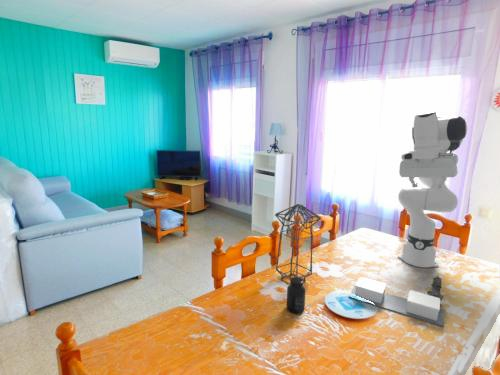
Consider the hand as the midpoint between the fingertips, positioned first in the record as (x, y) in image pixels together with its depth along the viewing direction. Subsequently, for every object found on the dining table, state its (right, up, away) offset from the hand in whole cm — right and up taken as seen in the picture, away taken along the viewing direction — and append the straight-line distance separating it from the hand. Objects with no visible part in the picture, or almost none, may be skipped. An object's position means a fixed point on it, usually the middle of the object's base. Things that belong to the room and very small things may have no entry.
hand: (427, 187), depth 126 cm
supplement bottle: (-55, -46, -8) cm, 72 cm away
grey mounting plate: (-15, -46, -3) cm, 48 cm away
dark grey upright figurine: (+2, -46, -1) cm, 46 cm away
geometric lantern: (-52, -41, +14) cm, 68 cm away
